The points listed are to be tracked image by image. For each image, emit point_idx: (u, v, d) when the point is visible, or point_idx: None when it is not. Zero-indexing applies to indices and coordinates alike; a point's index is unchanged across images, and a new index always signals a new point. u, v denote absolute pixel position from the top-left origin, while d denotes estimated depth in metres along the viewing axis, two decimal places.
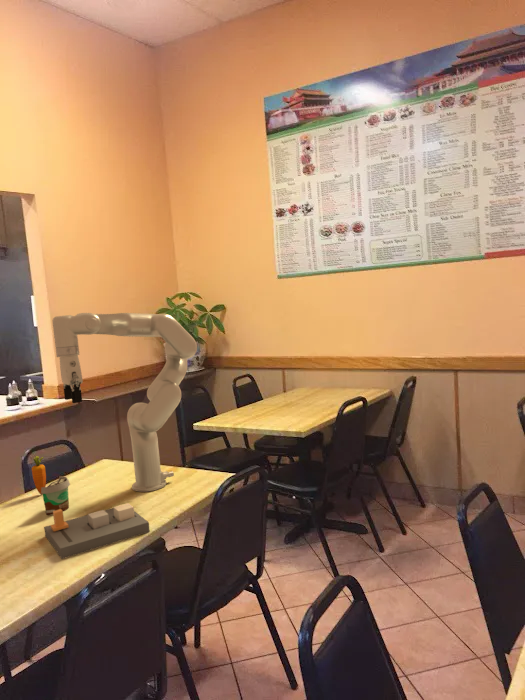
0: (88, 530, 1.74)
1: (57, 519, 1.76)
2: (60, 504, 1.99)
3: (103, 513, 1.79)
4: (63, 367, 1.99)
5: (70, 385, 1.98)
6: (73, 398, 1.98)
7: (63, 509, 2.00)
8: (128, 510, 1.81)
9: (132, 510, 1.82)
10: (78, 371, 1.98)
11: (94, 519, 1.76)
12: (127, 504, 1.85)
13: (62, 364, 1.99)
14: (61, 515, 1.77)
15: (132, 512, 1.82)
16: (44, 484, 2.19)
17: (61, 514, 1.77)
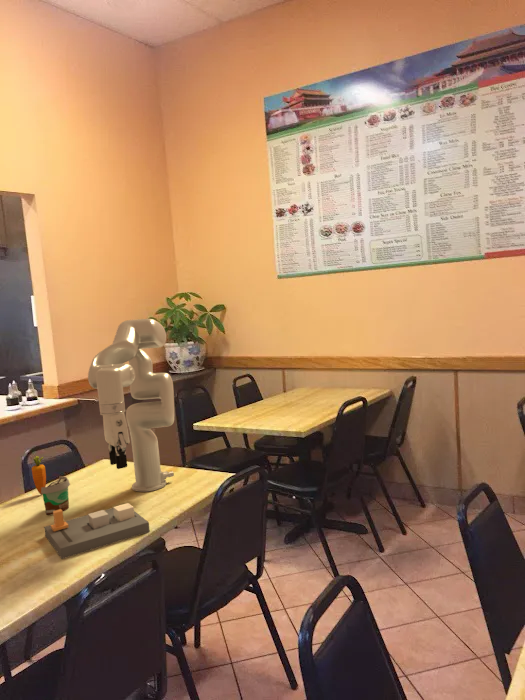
0: (88, 530, 1.74)
1: (57, 519, 1.76)
2: (60, 504, 1.99)
3: (103, 513, 1.79)
4: (108, 426, 1.77)
5: (115, 447, 1.78)
6: (118, 463, 1.78)
7: (63, 509, 2.00)
8: (128, 510, 1.81)
9: (132, 510, 1.82)
10: (125, 431, 1.77)
11: (94, 519, 1.76)
12: (127, 504, 1.85)
13: (107, 423, 1.78)
14: (61, 515, 1.77)
15: (132, 512, 1.82)
16: (44, 484, 2.19)
17: (61, 514, 1.77)
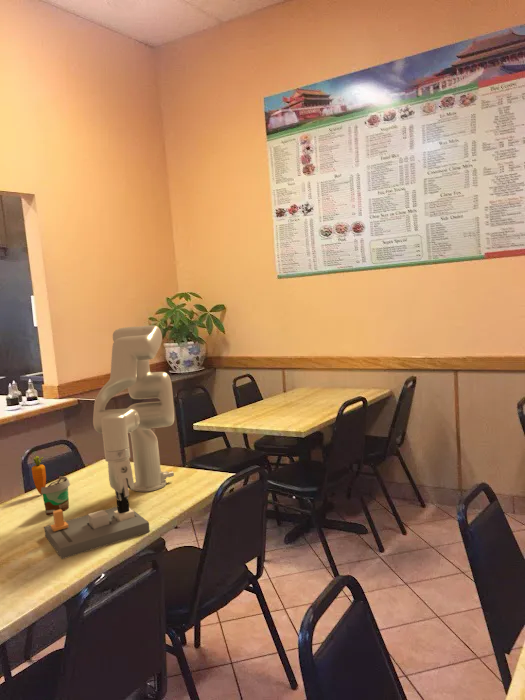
0: (88, 530, 1.74)
1: (57, 519, 1.76)
2: (60, 504, 1.99)
3: (103, 513, 1.79)
4: (113, 472, 1.79)
5: (118, 492, 1.80)
6: (120, 508, 1.81)
7: (63, 509, 2.00)
8: (128, 514, 1.81)
9: (132, 514, 1.82)
10: (130, 477, 1.78)
11: (94, 519, 1.76)
12: None
13: (112, 469, 1.79)
14: (61, 515, 1.77)
15: (132, 516, 1.82)
16: (44, 484, 2.19)
17: (61, 514, 1.77)
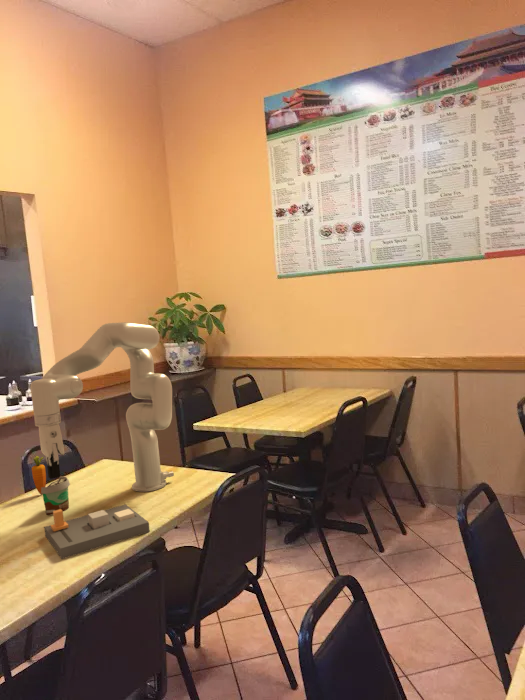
0: (88, 530, 1.74)
1: (57, 519, 1.76)
2: (60, 504, 1.99)
3: (103, 513, 1.79)
4: (42, 437, 1.78)
5: (48, 457, 1.79)
6: (50, 473, 1.80)
7: (63, 509, 2.00)
8: (129, 516, 1.81)
9: (133, 516, 1.82)
10: (59, 442, 1.77)
11: (94, 519, 1.76)
12: (128, 510, 1.85)
13: (41, 434, 1.78)
14: (61, 515, 1.77)
15: None
16: (44, 484, 2.19)
17: (61, 514, 1.77)
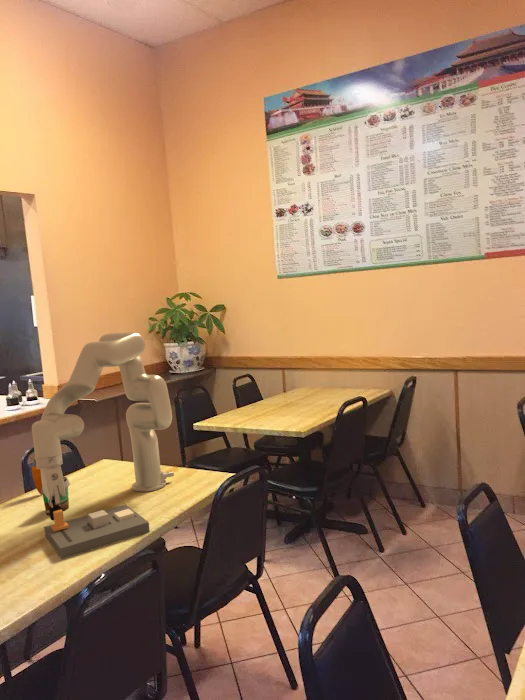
0: (88, 530, 1.74)
1: (57, 519, 1.76)
2: None
3: (103, 513, 1.79)
4: (44, 480, 1.76)
5: (50, 499, 1.78)
6: (52, 515, 1.78)
7: (63, 509, 2.00)
8: (129, 516, 1.81)
9: (133, 516, 1.82)
10: (61, 484, 1.75)
11: (94, 519, 1.76)
12: (128, 510, 1.85)
13: (43, 476, 1.76)
14: (61, 515, 1.76)
15: None
16: None
17: (61, 514, 1.76)
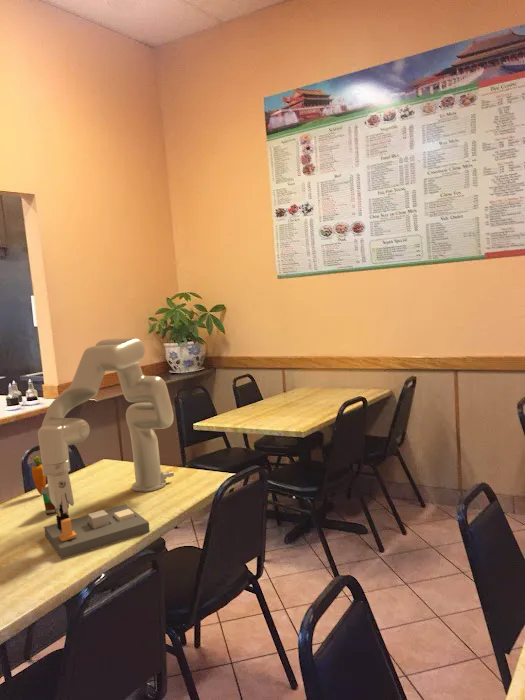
0: (88, 530, 1.74)
1: (65, 528, 1.68)
2: None
3: (103, 513, 1.79)
4: (51, 487, 1.68)
5: (57, 508, 1.70)
6: (59, 524, 1.71)
7: None
8: (129, 516, 1.81)
9: (133, 516, 1.82)
10: (68, 492, 1.68)
11: (94, 519, 1.76)
12: (128, 510, 1.85)
13: (50, 483, 1.68)
14: (69, 524, 1.69)
15: None
16: (44, 484, 2.19)
17: (69, 523, 1.69)
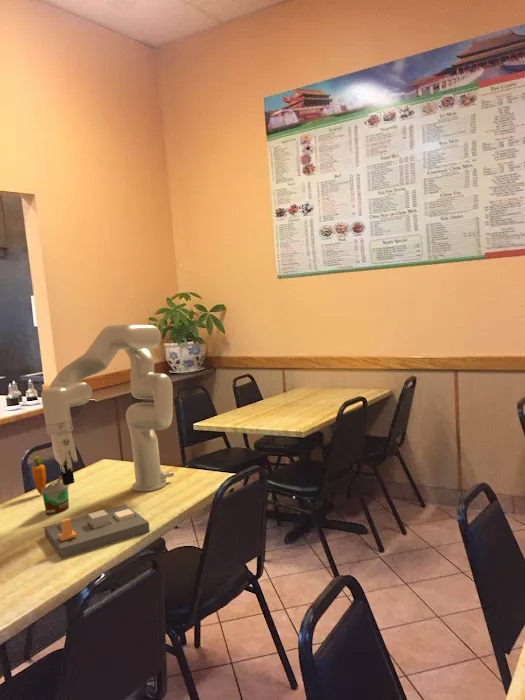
0: (88, 530, 1.74)
1: (65, 528, 1.68)
2: (60, 504, 1.99)
3: (103, 513, 1.79)
4: (55, 445, 1.79)
5: (62, 465, 1.81)
6: (64, 480, 1.82)
7: (63, 509, 2.00)
8: (129, 516, 1.81)
9: (133, 516, 1.82)
10: (72, 450, 1.78)
11: (94, 519, 1.76)
12: (128, 510, 1.85)
13: (54, 442, 1.79)
14: (69, 524, 1.69)
15: None
16: (44, 484, 2.19)
17: (69, 523, 1.69)
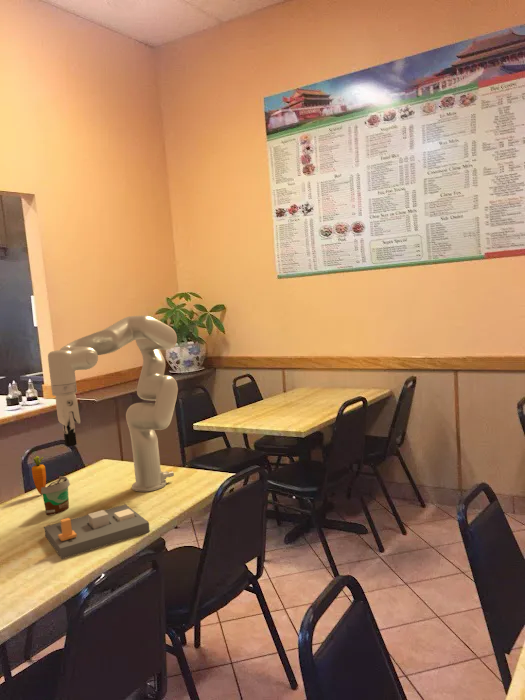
0: (88, 530, 1.74)
1: (65, 528, 1.68)
2: (60, 504, 1.99)
3: (103, 513, 1.79)
4: (59, 406, 1.84)
5: (65, 426, 1.86)
6: (67, 441, 1.87)
7: (63, 509, 2.00)
8: (129, 516, 1.81)
9: (133, 516, 1.82)
10: (75, 411, 1.84)
11: (94, 519, 1.76)
12: (128, 510, 1.85)
13: (58, 403, 1.84)
14: (69, 524, 1.69)
15: None
16: (44, 484, 2.19)
17: (69, 523, 1.69)
